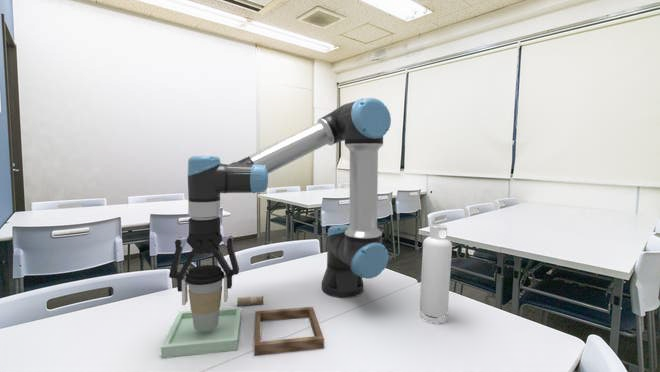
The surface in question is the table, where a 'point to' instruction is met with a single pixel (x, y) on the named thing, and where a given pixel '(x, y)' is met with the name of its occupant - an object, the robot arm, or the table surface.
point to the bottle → (435, 275)
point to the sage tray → (202, 335)
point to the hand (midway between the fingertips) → (205, 301)
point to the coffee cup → (205, 295)
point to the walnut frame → (287, 344)
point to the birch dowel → (250, 301)
